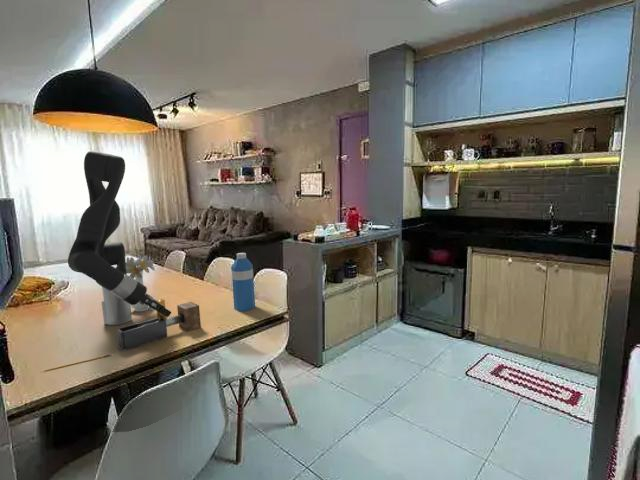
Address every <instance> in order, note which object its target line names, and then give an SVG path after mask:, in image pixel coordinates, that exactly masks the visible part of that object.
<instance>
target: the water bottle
mask: <svg viewBox="0 0 640 480" xmlns="http://www.w3.org/2000/svg"><path fill="white" fill-rule="evenodd" d="M253 266H254V265H253V263H252V262H251V261H250V260H249V258H247V253H246V252H238V253H236V259H235V260H234V262H233V263H232V265H231V266H230V269H231V282H232V296H233V309H234V310H235V311H237V312H247V311H251V310H254V309H255V307H256V299H255V298H256V297H255V295H256V294H255V282H254V281H255V280H254V268H253Z"/></svg>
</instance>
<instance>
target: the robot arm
mask: <svg viewBox="0 0 640 480" xmlns="http://www.w3.org/2000/svg"><path fill="white" fill-rule="evenodd" d="M83 170H84V176H85V181H86V185H87V191H88V195H89V196H88V197H89V198H88V199H89V206H88V207H87V208H86V209H85V210H84V212H83V213H82V214H81V217H80V220H79V225H78V227H77V233H76V238H75V240H74V242H73V244H72V246H71V249H70V252H69V253H68V257H67V258H68V259H67V265H68V267H69V268H70V270H71V271H73V272H75V273H81V274H83V275H85V276H87V277H88V278H90V279H92V280H94V281H95V282H96V283H97V284H98V285H99V286H100V287H101V290H102V297H103V300H102V301H101V308H102V309H101V310H102V317H103V324H104V325H107V326H117V325H118V326H120V325H123V324H126V323H129V322H131V321H132V319H133V317H132V307H131V306H130V304H131V305H135V304H137V303H138V302H139V303H140V304H142V305H143V306H145V307H148V308H149V309H150V310H152V311H156V312H157V311H158V313H161V314H163V315H165V316H166V318H168V317H169V318H170V315H171V314H172V311H171V310H170V309H167V308H166V306H165V307H164V306H162V305H161V304H159V302H158V301H157V300H158V299H157V300H156V299H155V298H154V297H153V296H152V295H150V294H148V293H147V291H148V288H147V286H145V285H144V283H143V284H141V283H139V282H138V281H136V280H135V278H134V279H133V278H132V277H130V275H129V274H128V273H126V262H127V261H126V249H125V245H124V243H123V242H122V241H117V242H116V241H115V242H107V240H108V239H109V238H110V237H111V236H112V235H113V233H114V232H115V231H116V230H117V229H118V228H119V227H120V224H121V208H120V206H119V204H118V202H117V201H116V198H117V196H118V193H119V191H120V188H121V185H122V182H123V179H124V176H125V172H126V162H125V159H124V158H123V157H122V156H118V155H115V154H110V153H107V152H102V151H97V150H96V151H95V150H90V151H88V152H86V154H85V156H84V159H83ZM103 182H106V183H107V186H106V187H105V185H104V184H103ZM114 266H116V267H114ZM146 293H147V294H146ZM145 294H146V295H145ZM160 306H161V307H160ZM159 307H160V308H159Z"/></svg>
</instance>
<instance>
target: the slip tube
mask: <svg viewBox="0 0 640 480" xmlns="http://www.w3.org/2000/svg"><path fill="white" fill-rule="evenodd" d="M157 301H158V302H159V304H161V305H162V306H164V307H165V308H166V302H165V301H166V300H165V299H163V298H162V299H157ZM160 307H161V306H160ZM160 307H159V308H160ZM156 318H157V319H158V321H156V322H159V321H162V320H166V327H172V326H174V325H179V323H182V322H184V315H183V314H181V315H178V314H177V315H175V316H171V317H169V318H168V317H166V316H165V315H163V314H161V313H158V311H156ZM153 323H155V322H153ZM149 324H152V323H149ZM146 325H148V324H146ZM142 326H145V325H142Z"/></svg>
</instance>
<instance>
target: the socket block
mask: <svg viewBox="0 0 640 480" xmlns="http://www.w3.org/2000/svg"><path fill="white" fill-rule="evenodd" d="M176 308H177V316H178V315H181V314H183V315H184V322H182V323H178V327H179V329H181V330H183V331H185V332H190V331H193V330H197V329H200V328H202V325H201V323H202V322H201V310H200V305H199V304H197V303H195V302H193V301H188V302H185V303H180V304H177V305H176Z"/></svg>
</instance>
